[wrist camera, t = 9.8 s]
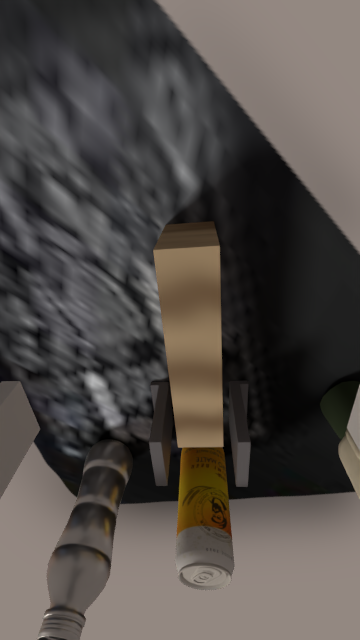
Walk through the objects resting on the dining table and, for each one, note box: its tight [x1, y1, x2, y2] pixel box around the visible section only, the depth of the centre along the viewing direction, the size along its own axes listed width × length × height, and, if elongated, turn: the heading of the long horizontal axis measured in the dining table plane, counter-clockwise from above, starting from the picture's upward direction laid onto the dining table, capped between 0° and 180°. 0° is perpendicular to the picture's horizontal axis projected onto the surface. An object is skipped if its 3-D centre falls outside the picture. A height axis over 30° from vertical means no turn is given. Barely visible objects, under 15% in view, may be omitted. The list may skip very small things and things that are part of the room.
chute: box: [149, 381, 251, 487], centre depth 34 cm, size 7×12×9 cm, turn 94°
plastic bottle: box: [37, 439, 133, 640], centre depth 35 cm, size 6×7×20 cm
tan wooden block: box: [153, 221, 223, 447], centre depth 29 cm, size 20×4×9 cm, turn 5°
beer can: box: [175, 447, 234, 590], centre depth 36 cm, size 6×6×15 cm
